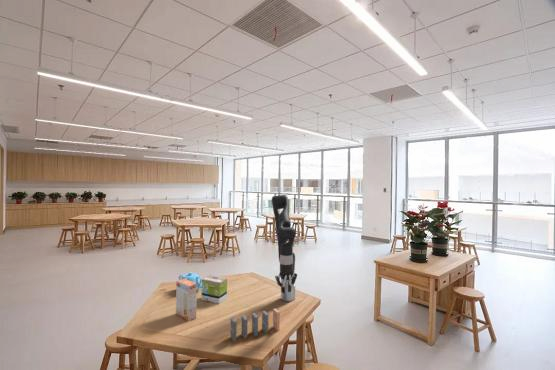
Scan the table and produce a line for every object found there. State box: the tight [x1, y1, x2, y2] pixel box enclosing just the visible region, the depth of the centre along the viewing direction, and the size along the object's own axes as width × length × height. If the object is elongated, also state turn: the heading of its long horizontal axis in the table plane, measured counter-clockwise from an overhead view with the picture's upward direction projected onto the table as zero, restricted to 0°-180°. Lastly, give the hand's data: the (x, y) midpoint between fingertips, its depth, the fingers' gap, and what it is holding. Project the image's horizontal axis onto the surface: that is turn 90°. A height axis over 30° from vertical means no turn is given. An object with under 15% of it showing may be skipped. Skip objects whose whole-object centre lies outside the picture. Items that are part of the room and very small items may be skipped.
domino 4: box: [261, 310, 269, 334], centre depth 148 cm, size 2×5×10 cm, turn 26°
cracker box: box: [175, 279, 198, 322], centre depth 164 cm, size 14×6×21 cm, turn 49°
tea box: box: [201, 275, 228, 304], centre depth 188 cm, size 15×10×15 cm, turn 68°
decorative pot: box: [178, 271, 203, 291], centre depth 204 cm, size 16×16×14 cm
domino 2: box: [240, 314, 248, 340], centre depth 142 cm, size 2×5×10 cm, turn 26°
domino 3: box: [251, 312, 259, 337], centre depth 145 cm, size 2×5×10 cm, turn 26°
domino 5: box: [272, 308, 281, 331], centre depth 150 cm, size 2×5×10 cm, turn 26°
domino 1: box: [230, 317, 237, 343], centre depth 140 cm, size 2×5×10 cm, turn 26°
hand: (286, 292), depth 153 cm, fingers open, 3 cm apart
